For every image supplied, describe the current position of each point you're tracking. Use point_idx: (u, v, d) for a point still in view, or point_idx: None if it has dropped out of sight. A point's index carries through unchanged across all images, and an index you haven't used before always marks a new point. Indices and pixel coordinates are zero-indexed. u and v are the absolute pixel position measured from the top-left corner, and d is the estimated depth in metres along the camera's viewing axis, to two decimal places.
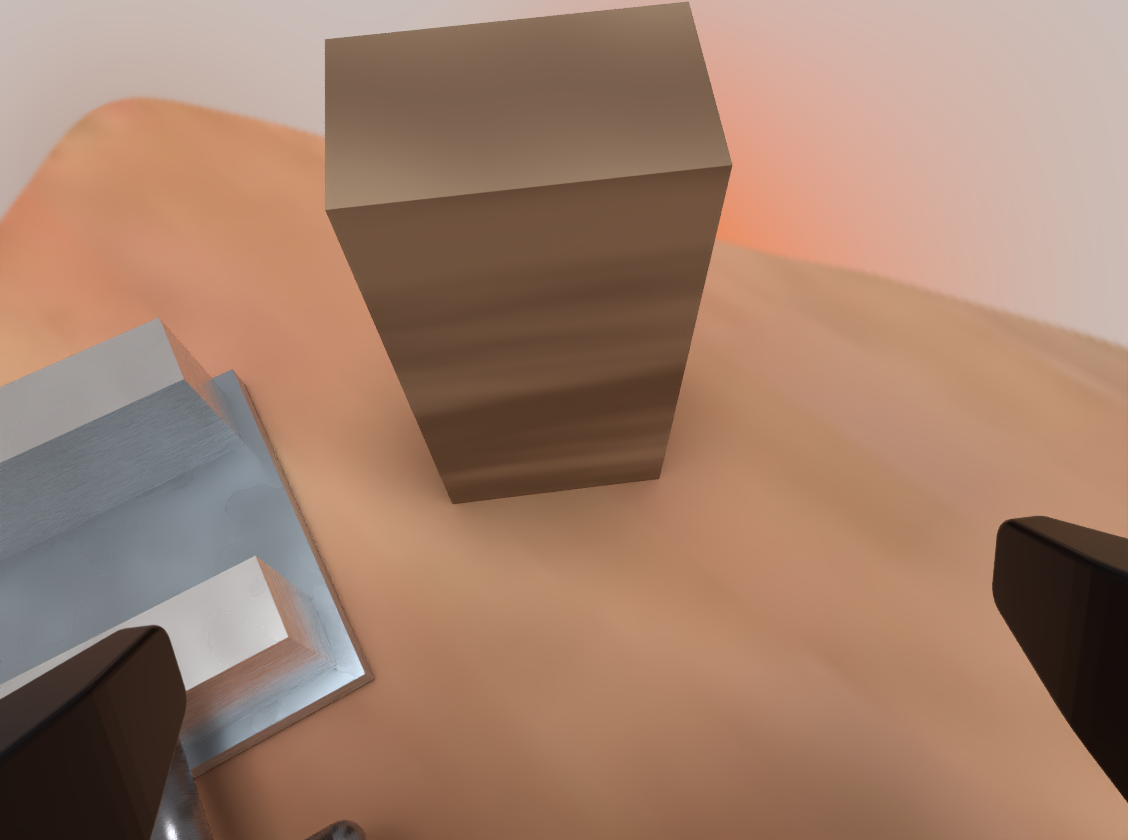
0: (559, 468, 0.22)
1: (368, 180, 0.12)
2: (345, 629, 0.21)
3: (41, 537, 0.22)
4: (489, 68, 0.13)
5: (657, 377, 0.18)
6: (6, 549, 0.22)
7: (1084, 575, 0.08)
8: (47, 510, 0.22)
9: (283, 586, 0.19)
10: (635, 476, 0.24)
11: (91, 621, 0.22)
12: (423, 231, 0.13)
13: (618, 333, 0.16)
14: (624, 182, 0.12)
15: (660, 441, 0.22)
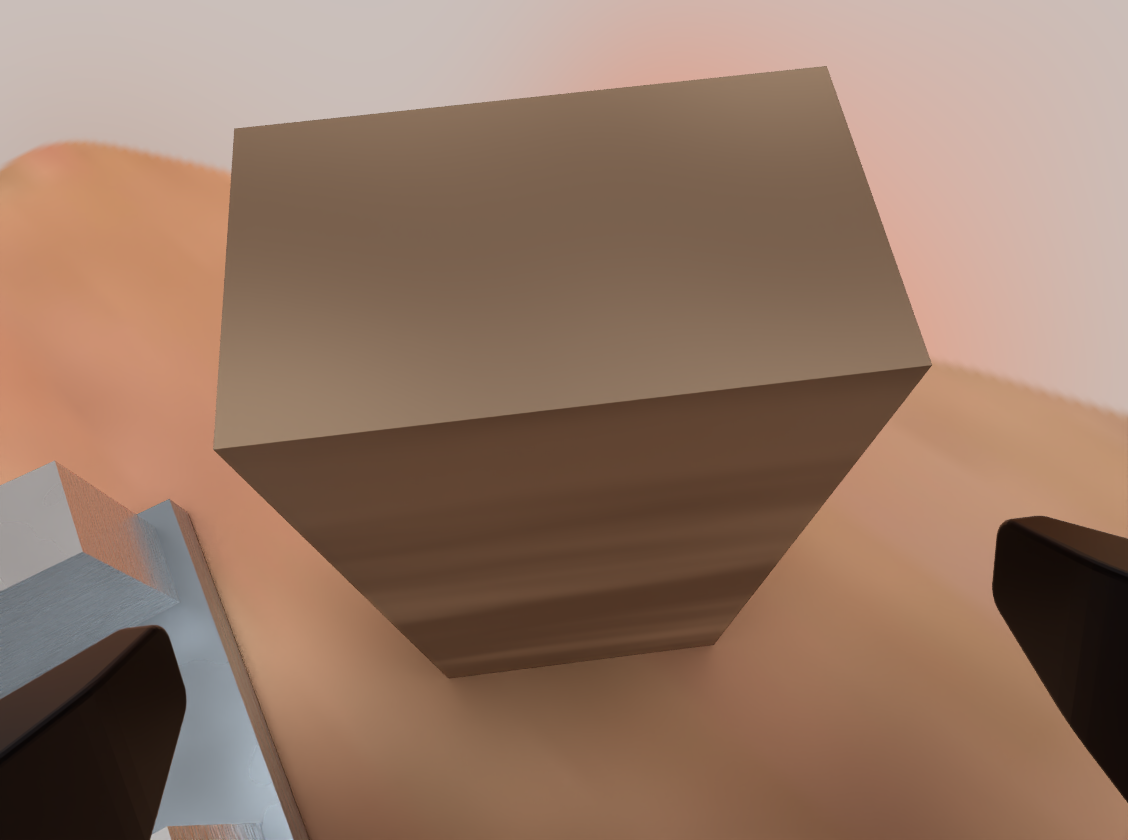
0: (588, 646, 0.17)
1: (293, 391, 0.07)
2: None
3: None
4: (503, 180, 0.08)
5: (734, 574, 0.13)
6: None
7: (1084, 575, 0.08)
8: None
9: None
10: (683, 645, 0.18)
11: None
12: (390, 464, 0.07)
13: (691, 542, 0.11)
14: (740, 393, 0.07)
15: (723, 620, 0.16)
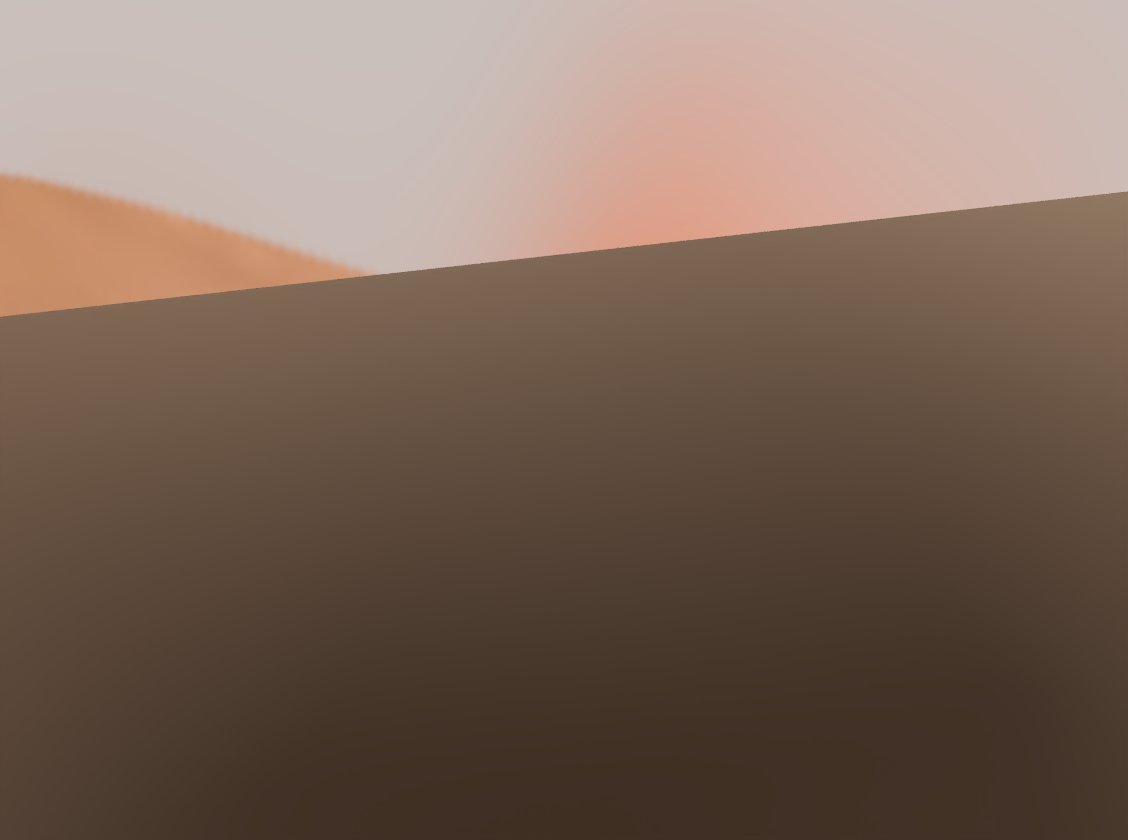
0: None
1: None
2: None
3: None
4: (529, 476, 0.03)
5: None
6: None
7: None
8: None
9: None
10: None
11: None
12: None
13: None
14: None
15: None
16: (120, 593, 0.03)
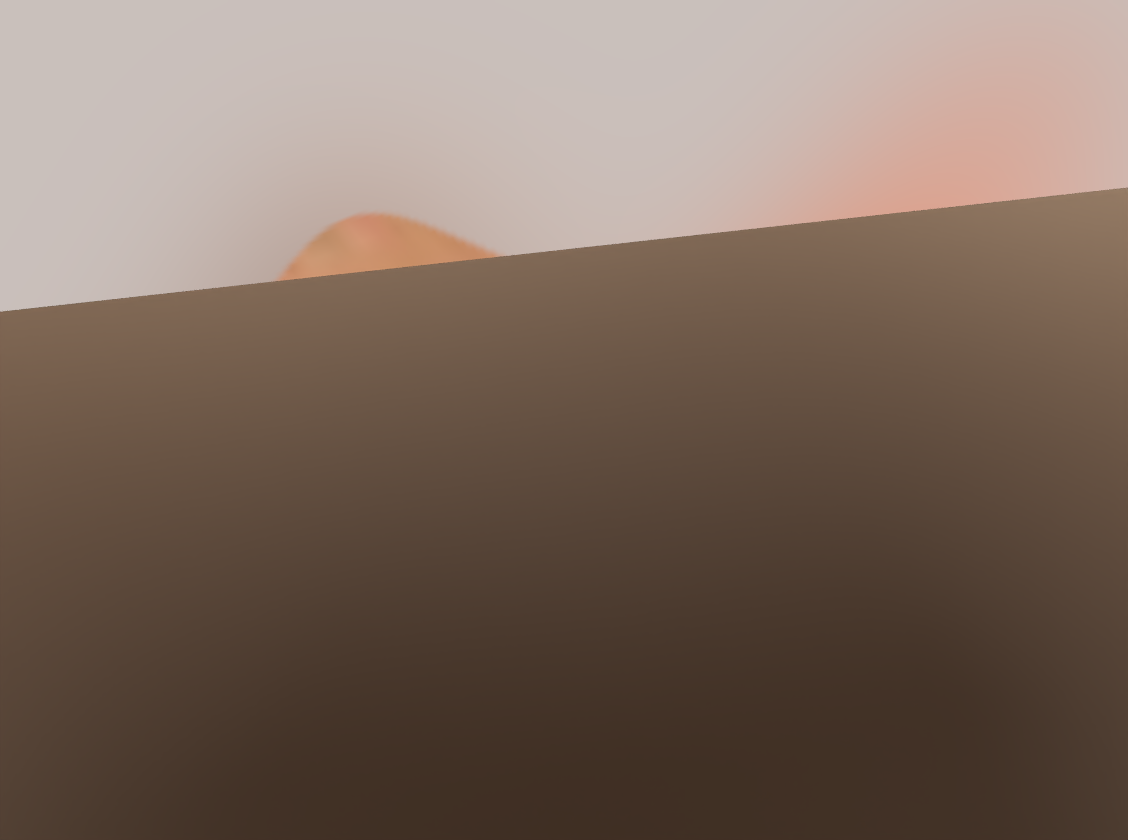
0: None
1: None
2: None
3: None
4: (535, 469, 0.03)
5: None
6: None
7: None
8: None
9: None
10: None
11: None
12: None
13: None
14: None
15: None
16: (128, 584, 0.03)
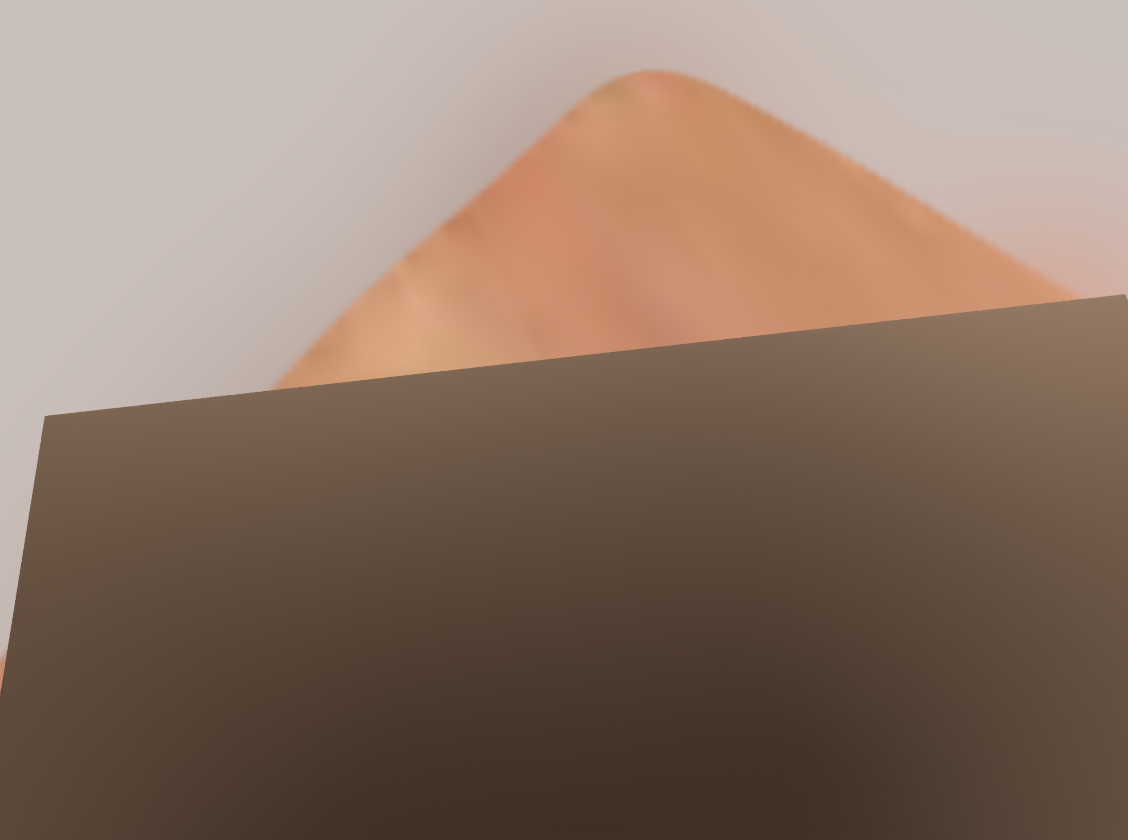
0: None
1: None
2: None
3: None
4: (544, 543, 0.04)
5: None
6: None
7: None
8: None
9: None
10: None
11: None
12: None
13: None
14: None
15: None
16: (224, 637, 0.04)
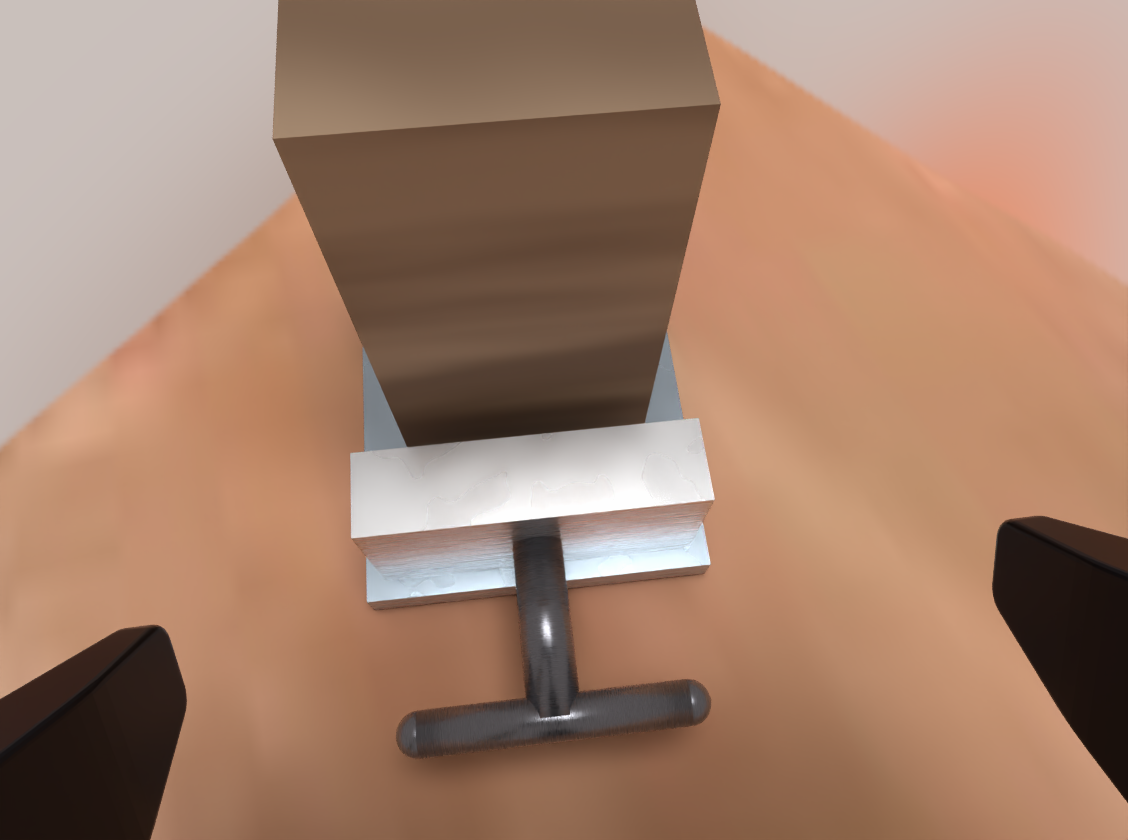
0: None
1: (322, 108, 0.11)
2: None
3: None
4: None
5: (635, 345, 0.17)
6: None
7: (1084, 575, 0.08)
8: None
9: None
10: None
11: None
12: (382, 168, 0.12)
13: (595, 294, 0.15)
14: (602, 119, 0.11)
15: (638, 416, 0.21)
16: (351, 14, 0.12)
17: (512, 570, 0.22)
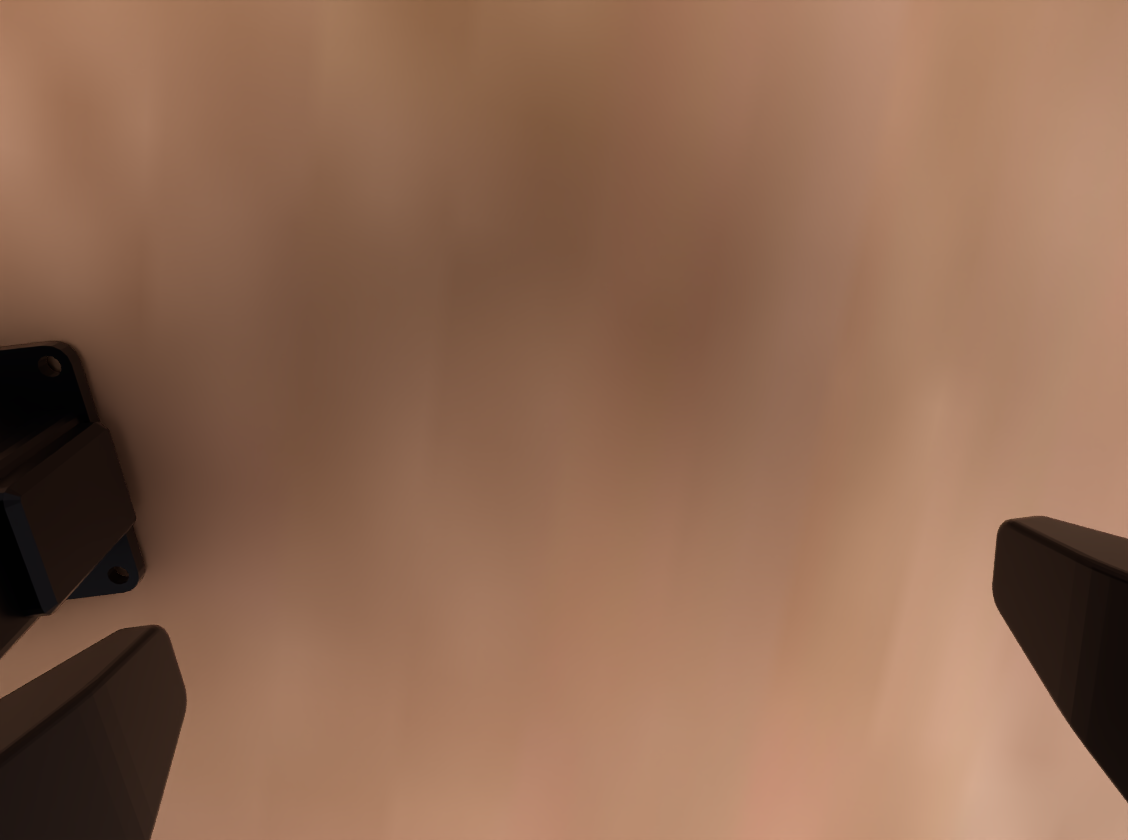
0: None
1: None
2: None
3: None
4: None
5: None
6: None
7: (1084, 575, 0.08)
8: None
9: None
10: None
11: None
12: None
13: None
14: None
15: None
16: None
17: None
